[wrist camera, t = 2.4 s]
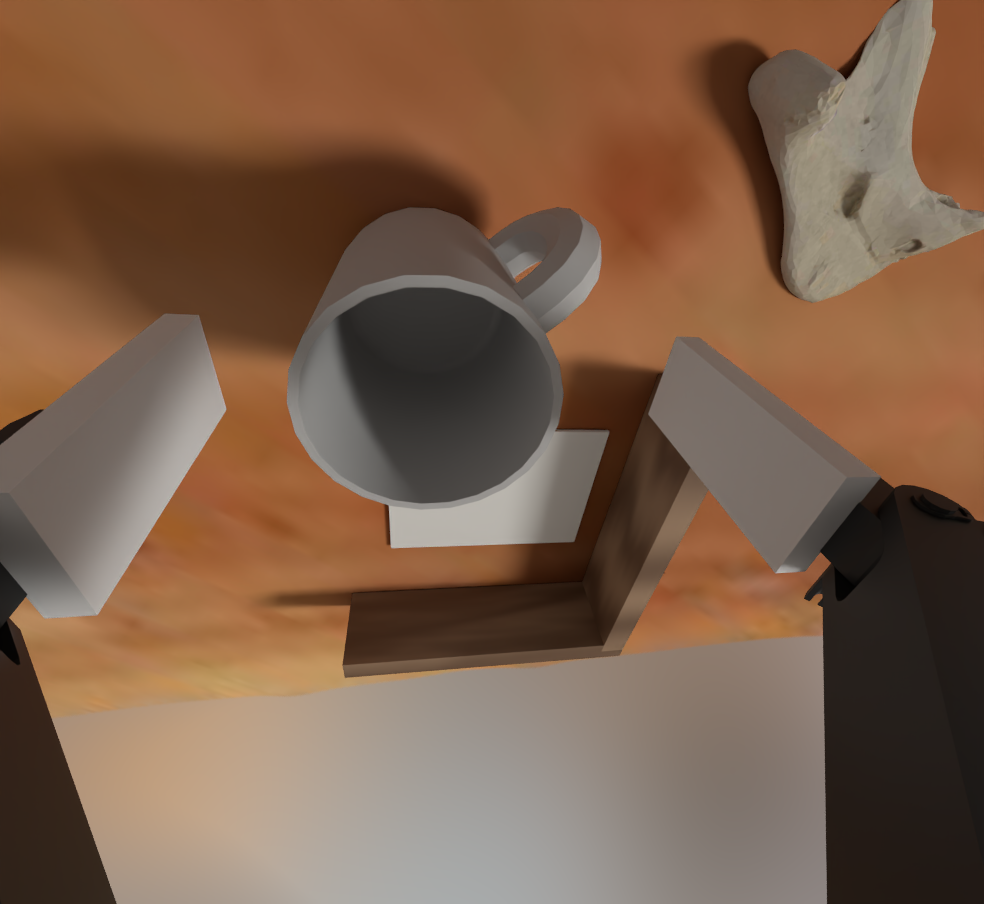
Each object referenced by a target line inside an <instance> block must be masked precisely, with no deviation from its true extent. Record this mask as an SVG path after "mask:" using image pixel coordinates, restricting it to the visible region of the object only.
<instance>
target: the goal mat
mask: <svg viewBox="0 0 984 904" xmlns="http://www.w3.org/2000/svg"><path fill="white" fill-rule="evenodd" d="M608 435H609V430H559V429H556V430H555V432H554V434H553V437H552V439H551V441H550V443H549V445H548V447H547V449H546V450H545V452H544V453H543V454H542V455H541V456H540V458H539V459H538V460H537V461H536V462H535V464H534V465H533V466H532V467H531V468H530V470H529V471H528V472H526V473H525V474H524V475H522V476H521V477H520V478H518V479H517V480H516V481H514V482H513V483H512V484H510V485H509V486H508V487H506V488H505V489H503V490H501V491H499V492H496V493H494V494H492V495H490V496H488V497H486V498H484V499H482V500H479V501H476V502H472V503H468V504H464V505H460V506H456V507H452V508H440V509H423V510H420V509H411V508H403V507H395V506H389V518H390V538H391V548H409V547H439V546H468V545H498V544H527V543H557V542H574V541H575V538H576V534H577V531H578V528H579V525H580V522H581V519H582V516H583V513H584V510H585V507H586V503H587V500H588V497H589V494H590V491H591V488H592V485H593V482H594V479H595V476H596V472H597V469H598V466H599V463H600V460H601V457H602V454H603V451H604V448H605V445H606V441H607V438H608Z"/></svg>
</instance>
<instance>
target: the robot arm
mask: <svg viewBox="0 0 984 904" xmlns="http://www.w3.org/2000/svg"><path fill="white" fill-rule="evenodd" d="M225 411H226V406H225V403H224V399H223V396H222V392H221V389H220V386H219V382H218V379H217V375H216V372H215V369H214V365H213V362H212V358H211V355H210V352H209V348H208V345H207V341H206V338H205V334H204V331H203V328H202V324H201V321H200V317H199V315H188V314H163V315H162V316H161V317H160V318H158V319H157V320H156V321H155V322H153V323H152V324H151V325H150V326H148V327H147V328H146V329H145V330H143V331H142V332H141V333H140V334H138V335H137V336H136V337H135V338H133V339H132V340H131V341H130V342H128V343H127V344H126V345H125V346H123V347H122V348H121V349H120V350H118V351H117V352H116V353H115V354H113V355H112V356H111V357H110V358H108V359H107V360H106V361H105V362H103V363H102V364H101V365H100V366H98V367H97V368H96V369H95V370H93V371H92V372H91V373H90V374H88V375H87V376H86V377H85V378H83V379H82V380H81V381H80V382H78V383H77V384H76V385H75V386H73V387H72V388H71V389H70V390H68V391H67V392H66V393H65V394H63V395H62V396H61V397H60V398H58V399H57V400H56V401H55V402H53V403H52V404H51V405H50V406H48V407H47V408H46V409H45V410H38V411H36V412H34V413H32V414H30V415H27V416H25V417H23V418H21V419H19V420H16V421H14V422H12V423H10V424H8V425H7V426H6V427H4V428H3V429H2V430H0V904H116V901H115V898H114V895H113V892H112V889H111V887H110V884H109V881H108V878H107V875H106V872H105V870H104V867H103V864H102V861H101V858H100V855H99V852H98V850H97V847H96V844H95V841H94V838H93V835H92V832H91V830H90V827H89V824H88V821H87V818H86V815H85V813H84V810H83V807H82V804H81V801H80V798H79V795H78V793H77V790H76V787H75V784H74V781H73V779H72V776H71V773H70V770H69V767H68V764H67V762H66V758H65V756H64V753H63V750H62V747H61V744H60V741H59V739H58V736H57V733H56V730H55V727H54V725H53V722H52V719H51V716H50V713H49V710H48V707H47V704H46V702H45V699H44V696H43V693H42V690H41V687H40V684H39V682H38V679H37V676H36V673H35V670H34V667H33V665H32V662H31V659H30V656H29V653H28V650H27V647H26V645H25V642H24V639H23V636H22V633H21V630H20V629H19V628H18V627H17V626H16V625H15V624H14V623H13V622H12V620H11V619H10V618H9V617H10V616H11V614H12V613H13V612H14V611H15V609H16V608H17V607H18V606H19V604H20V603H21V602H22V601H23V600H24V598H25V597H27V598H28V600H29V601H30V602H31V603H32V604H33V605H34V607H35V608H36V609H37V610H38V611H39V613H40V614H41V615H42V616H43V617H44V618H59V617H75V616H92V615H98V613H99V612H100V610H101V609H102V607H103V605H104V604H105V602H106V601H107V599H108V597H109V596H110V594H111V593H112V591H113V590H114V588H115V586H116V585H117V583H118V582H119V580H120V578H121V577H122V575H123V574H124V572H125V570H126V569H127V567H128V566H129V564H130V562H131V561H132V559H133V558H134V556H135V554H136V553H137V551H138V550H139V548H140V547H141V545H142V543H143V542H144V540H145V539H146V537H147V535H148V534H149V532H150V531H151V529H152V527H153V526H154V524H155V523H156V521H157V519H158V518H159V516H160V515H161V513H162V512H163V510H164V508H165V507H166V505H167V504H168V502H169V500H170V499H171V497H172V496H173V494H174V492H175V491H176V489H177V488H178V486H179V484H180V483H181V481H182V480H183V478H184V476H185V475H186V473H187V472H188V470H189V469H190V467H191V465H192V464H193V462H194V461H195V459H196V457H197V456H198V454H199V453H200V451H201V449H202V448H203V446H204V445H205V443H206V441H207V440H208V438H209V437H210V435H211V434H212V432H213V430H214V429H215V427H216V426H217V424H218V422H219V421H220V419H221V418H222V416H223V414H224V413H225ZM648 415H649V416H650V417H651V418H652V420H653V421H654V422H655V423H656V425H657V426H658V427H659V428H660V430H661V431H662V432H663V433H664V435H665V436H666V437H667V438H668V440H669V441H670V442H671V443H672V445H673V446H674V447H675V448H676V450H677V451H678V452H679V453H680V455H681V456H682V457H683V458H684V460H685V461H686V462H687V463H688V465H689V466H690V467H691V468H692V470H693V471H694V472H695V473H696V475H697V476H698V477H699V478H700V480H701V481H702V482H703V483H704V485H705V486H706V487H707V488H708V490H709V491H710V492H711V493H712V495H713V496H714V497H715V498H716V500H717V501H718V502H719V503H720V505H721V506H722V507H723V508H724V510H725V511H726V512H727V513H728V515H729V516H730V517H731V518H732V520H733V521H734V522H735V523H736V525H737V526H738V527H739V528H740V530H741V531H742V532H743V533H744V535H745V536H746V537H747V538H748V540H749V541H750V542H751V543H752V545H753V546H754V547H755V548H756V550H757V551H758V552H759V553H760V555H761V556H762V557H763V558H764V560H765V561H766V562H767V563H768V565H769V566H770V567H771V568H772V570H773V571H774V572H775V573H786V572H802V571H806V570H807V568H808V567H809V566H810V565H811V563H812V562H813V561H814V560H815V558H816V557H817V556H818V555H819V553H820V552H821V553H822V554H823V555H824V556H825V557H826V558H827V559H828V560H829V561H830V562H831V564H830V565H829V567H828V568H827V569H826V570H825V571H824V573H823V574H822V575H821V576H820V577H819V578H818V580H817V581H816V582H815V583H814V584H813V586H812V587H811V588H810V589H809V590H808V591H807V593H806V595H805V598H804V599H806V600H808V601H810V600H811V599H812V598H813V597H814V595H816V594H823V598H822V600H821V601H820V602H819V603H818V605H819V606H821V607H823V657H824V722H825V723H824V725H825V790H826V791H825V793H826V859H827V904H984V522H982V521H977V520H975V519H974V517H973V516H972V515H971V513H970V512H969V511H968V510H967V509H965V508H963V507H962V506H960V505H959V504H957V503H956V502H954V501H952V500H950V499H949V498H947V497H945V496H943V495H940V494H938V493H936V492H933V491H931V490H928V489H925V488H921V487H917V486H911V485H901V486H898V487H895V489H894V488H893V487H892V486H891V485H889V484H888V483H887V482H885V481H884V480H883V479H881V476H880V475H878V474H877V473H876V472H874V471H873V470H872V469H870V468H869V467H868V466H867V465H865V464H864V463H863V462H861V461H860V460H859V459H857V458H856V457H855V456H853V455H852V454H851V453H849V452H848V451H847V450H846V449H844V448H843V447H842V446H840V445H839V444H838V443H836V442H835V441H834V440H832V439H831V438H830V437H829V436H827V435H826V434H825V433H823V432H822V431H821V430H819V429H818V428H817V427H815V426H814V425H813V424H812V423H810V422H809V421H808V420H806V419H805V418H804V417H802V416H801V415H800V414H798V413H797V412H796V411H795V410H793V409H792V408H791V407H789V406H788V405H787V404H785V403H784V402H783V401H781V400H780V399H779V398H778V397H776V396H775V395H774V394H772V393H771V392H770V391H768V390H767V389H766V388H764V387H763V386H762V385H761V384H759V383H758V382H757V381H755V380H754V379H753V378H751V377H750V376H749V375H747V374H746V373H745V372H744V371H742V370H741V369H740V368H738V367H737V366H736V365H734V364H733V363H732V362H730V361H729V360H728V359H727V358H725V357H724V356H723V355H721V354H720V353H719V352H717V351H716V350H715V349H713V348H712V347H711V346H710V345H708V344H707V343H706V342H704V341H703V340H702V339H700V338H698V337H676V339H675V342H674V344H673V347H672V350H671V353H670V355H669V358H668V361H667V364H666V366H665V369H664V372H663V375H662V377H661V380H660V383H659V386H658V388H657V391H656V394H655V397H654V399H653V402H652V405H651V408H650V410H649V413H648Z"/></svg>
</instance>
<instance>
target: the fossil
mask: <svg viewBox="0 0 984 904" xmlns="http://www.w3.org/2000/svg"><path fill="white" fill-rule="evenodd" d="M932 8H933V1H932V0H900V1H899V2H897V3H896V4H894V6H892V7H891V8H890V9H889V10H888V11H887V12H886V13H885V15H884V16H883V17H882V19H881V20H880V21H879V23H878V25H877V26H876V28H875V30H874V32H873V33H872V35H871V36H870V37H869V39H868V40H867V42H866V44H865V47H864V49H863V52H862V55H861V57H860V60H859V62H858V64H857V66H856V67H855V69H854V70H853V72H852V73H851V75H850V76H849V77H848V78H847V79H846V80H845V78H844V77H843V76H842V74H841V73H839V72H837V71H836V70H834V69H832V68H831V67H829V66H827V65H826V64H824V63H823V62H821V61H820V60H818V59H817V58H815V57H813V56H811V55H809V54H807V53H805V52H802V51H799V50H786V51H783V52H780V53H779V54H777V55H776V56H774V57H773V58H771V59H769V60H768V61H766V62H765V63H763V64H761V65H760V66H759V67H758V68H757V69H756V71H755V72H754V73H753V74H752V77H751V79H750V82H749V84H748V92H749V98H750V102H751V106H752V108H753V109H754V111H755V112H756V114H757V116H758V118H759V121H760V124H761V127H762V130H763V134H764V139H765V143H766V145H767V148H768V152H769V156H770V159H771V162H772V165H773V167H774V170H775V173H776V176H777V179H778V182H779V186H780V191H781V195H782V203H783V212H784V239H783V251H782V258H781V272H782V274H783V280H784V282H785V284H786V286H787V288H788V289H789V290H790V292H791V293H792V294H794V295H795V296H797V297H798V298H800V299H802V300H806V301H809V302H811V303H814V302H818V301H822V300H824V299H826V298H830V297H833V296H837V295H840V294H842V293H843V292H845V291H848V290H850V289H851V288H853V287H855V286H857V284H858V283H861V282H863V281H865V280H867V279H869V278H871V277H872V276H874V275H875V274H877V273H878V272H879V271H881V270H882V269H884V268H885V267H887V266H888V265H890V264H891V263H893V262H898V261H899V260H900V259H906V258H907V257H908V256H912V255H917V254H919V253H922V252H929V251H931V250H934V249H937V248H939V247H942V246H944V245H946V244H949V243H951V242H953V241H955V240H957V239H959V238H961V237H963V236H966V235H969V234H972V233H974V232H977V231H979V230H983V229H984V212H981V211H977V210H963V209H960V204H959V203H955V202H954V200H953V199H952V197H951V196H948V195H945V194H939V193H937V192H934V191H932V190H929V189H928V187H925V185H924V184H923V183H922V181H921V179H920V177H919V175H918V172H917V170H916V168H915V165H914V161H913V157H912V148H911V145H912V122H913V118H914V110H915V106H916V102H917V96H918V93H919V89H920V85H921V82H922V79H923V76H924V73H925V70H926V67H927V63H928V59H929V56H930V53H931V49H932V45H933V41H934V38H935V34H936V31H935V28H933V27H932Z"/></svg>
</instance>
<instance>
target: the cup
mask: <svg viewBox="0 0 984 904" xmlns="http://www.w3.org/2000/svg"><path fill="white" fill-rule="evenodd" d="M540 261H542V262H541V263H540V264H539V265H538V266H537V267H536V268H535V269H534V270H533V271H532V272H531V273H530V274H528V275H527V276H526V277H524V278H523V279H522V280H521V281H519V282H518V283H516V281H515V279H514V277H516V276H517V275H519V274H520V273H521V272H523V271H524V270H525V269H527V268H529V267H530V266H532V265H534V264H536V263H537V262H540ZM600 267H601V239H600V237H599V234H598V232H597V230H596V227H594V226H593V225H592V224H590V223H589V222H588V221H587V220H585V219H584V218H583V217H581V216H580V215H579V214H577V213H576V212H574V211H573V210H571V209H567V208H559V207H557V208H552V209H547V210H543V211H539V212H536V213H533V214H530V215H527V216H525V217H523V218H521V219H519V220H517V221H515V222H513V223H512V224H510V225H508V226H507V227H505V228H504V229H502V230H501V231H500V232H498V233H497V234H496V235H494V236H493V237H492V238H491V239H487V238H486V237H485V235H484V234H483V233H482V232H481V231H480V230H479V229H477V228H476V227H475V226H473V225H472V224H470V223H469V222H467V221H466V220H464V219H463V218H461V217H460V216H457V215H454V214H451V213H448V212H445V211H442V210H439V209H436V208H414V207H409V208H405V209H401V210H398V211H394V212H391V213H387V214H384V215H383V216H381V217H380V218H378V219H376V220H375V221H373V222H372V223H370V224H369V225H367V226H366V227H364V228H363V229H362V230H361V231H360V233H359V234H358V235H357V236H356V237H355V239H354V240H353V241H352V242H351V243H350V245H349V246H348V247H347V248H346V250H345V251H344V253H343V255H342V257H341V259H340V261H339V263H338V265H337V267H336V269H335V271H334V273H333V275H332V277H331V279H330V281H329V283H328V285H327V287H326V289H325V291H324V293H323V295H322V297H321V299H320V301H319V303H318V305H317V307H316V310H315V312H314V314H313V316H312V318H311V320H310V322H309V324H308V326H307V328H306V330H305V332H304V334H303V336H302V338H301V340H300V343H299V345H298V348H297V350H296V353H295V355H294V357H293V360H292V362H291V365H290V367H289V371H288V391H287V405H288V408H289V412H290V416H291V419H292V423H293V426H294V430H295V433H296V435H297V437H298V438H299V440H300V441H301V443H302V445H303V446H304V448H305V449H306V451H307V452H308V454H309V456H310V457H311V459H312V460H313V461H314V462H315V463H316V464H317V465H318V466H319V467H320V468H321V469H323V470H324V471H325V472H326V473H327V474H328V475H329V476H330V477H331V478H332V479H333V480H334V481H336V482H337V483H339V484H341V485H343V486H344V487H346V488H348V489H350V490H351V491H353V492H355V493H357V494H358V495H360V496H362V497H365V498H368V499H371V500H374V501H377V502H380V503H383V504H386V505H389V506H395V507H403V508H411V509H420V510H423V509H440V508H452V507H456V506H460V505H464V504H468V503H472V502H476V501H479V500H482V499H484V498H486V497H488V496H490V495H492V494H494V493H496V492H499V491H501V490H503V489H505V488H506V487H508V486H509V485H510V484H512V483H513V482H514V481H516V480H517V479H518V478H520V477H521V476H522V475H524V474H525V473H526V472H528V471H529V470H530V468H531V467H532V466H533V465H534V464H535V462H536V461H537V460H538V459H539V458H540V456H541V455H542V454H543V453H544V452H545V450H546V449H547V447H548V445H549V443H550V441H551V439H552V437H553V434H554V432H555V430H556V428H557V426H558V424H559V419H560V413H561V407H562V401H563V395H564V394H563V386H562V379H561V372H560V364H559V362H558V360H557V358H556V356H555V353H554V351H553V349H552V347H551V345H550V343H549V340H548V338H547V336H546V333H547V332H548V331H550V330H551V329H552V328H554V327H555V326H556V325H558V324H559V323H561V322H562V321H563V320H565V319H566V318H567V317H568V316H569V315H570V314H571V313H572V312H573V311H574V310H575V309H576V308H577V307H578V306H579V305H580V304H581V303H582V302H583V301H585V299H586V298H587V296H588V294H589V293H590V291H591V290H592V288H593V287H594V285H595V284H596V282H597V280H598V278H599V273H600Z"/></svg>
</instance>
